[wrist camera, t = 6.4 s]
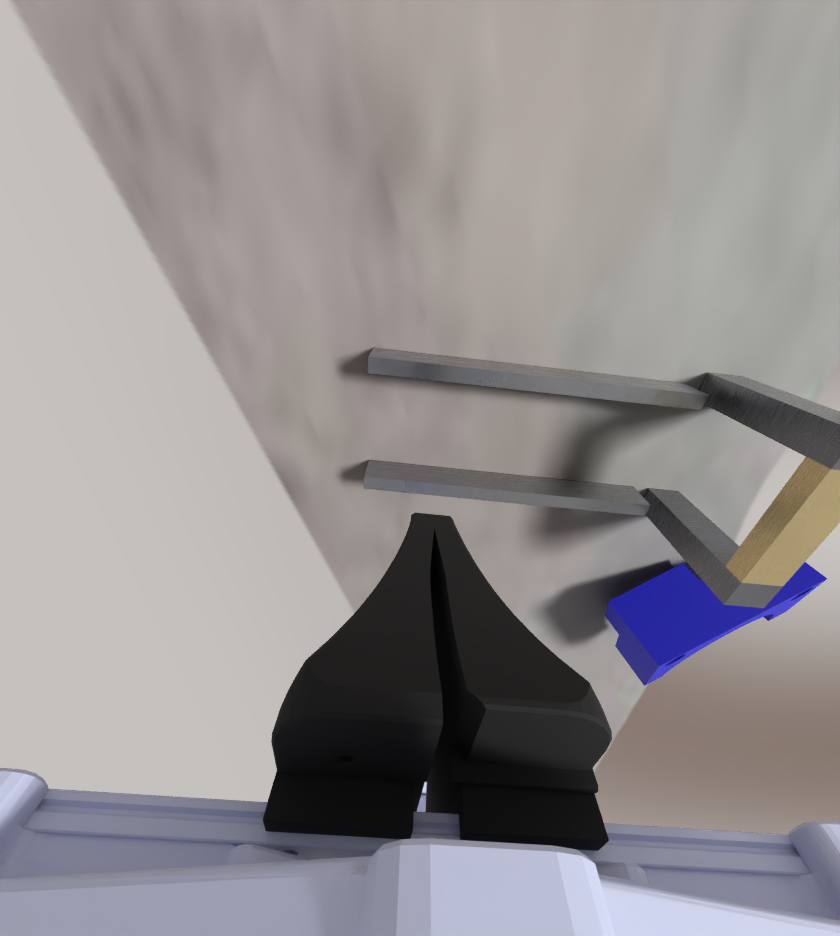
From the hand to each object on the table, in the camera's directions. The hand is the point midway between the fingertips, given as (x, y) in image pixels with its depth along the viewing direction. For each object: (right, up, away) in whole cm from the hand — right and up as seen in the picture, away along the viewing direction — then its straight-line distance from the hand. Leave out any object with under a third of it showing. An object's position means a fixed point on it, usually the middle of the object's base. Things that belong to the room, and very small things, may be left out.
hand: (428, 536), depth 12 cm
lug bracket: (+16, +4, +9) cm, 18 cm away
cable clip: (+19, -6, +11) cm, 23 cm away
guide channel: (+5, +5, +9) cm, 11 cm away
